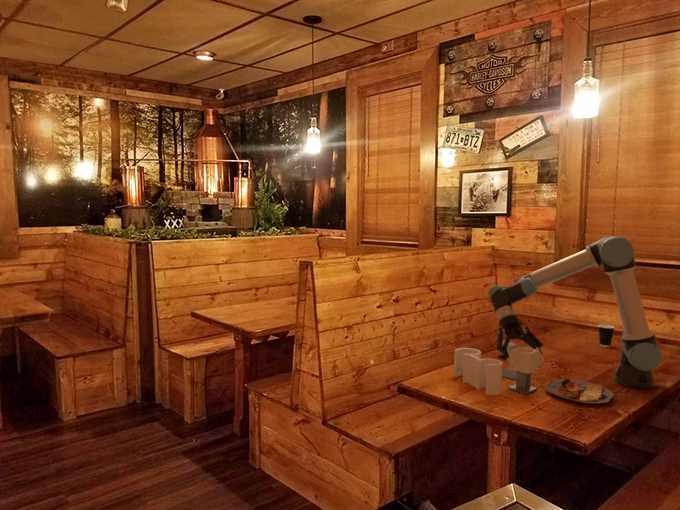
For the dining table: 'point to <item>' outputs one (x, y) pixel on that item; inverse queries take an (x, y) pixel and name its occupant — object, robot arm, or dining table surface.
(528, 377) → the post
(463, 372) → the bracket
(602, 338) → the dixie cup
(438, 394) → the dining table surface
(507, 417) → the dining table surface
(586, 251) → the robot arm
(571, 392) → the food plate
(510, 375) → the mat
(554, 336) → the dining table surface
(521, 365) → the beige block piece
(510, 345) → the ceramic mug
